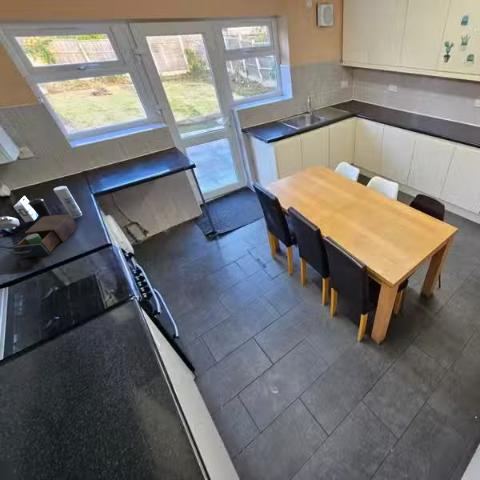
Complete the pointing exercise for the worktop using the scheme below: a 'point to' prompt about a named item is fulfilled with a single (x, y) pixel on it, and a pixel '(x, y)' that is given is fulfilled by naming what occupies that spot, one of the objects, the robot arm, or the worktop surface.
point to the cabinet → (55, 226)
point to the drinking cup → (39, 207)
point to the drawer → (37, 245)
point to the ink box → (25, 210)
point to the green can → (34, 239)
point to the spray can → (68, 201)
